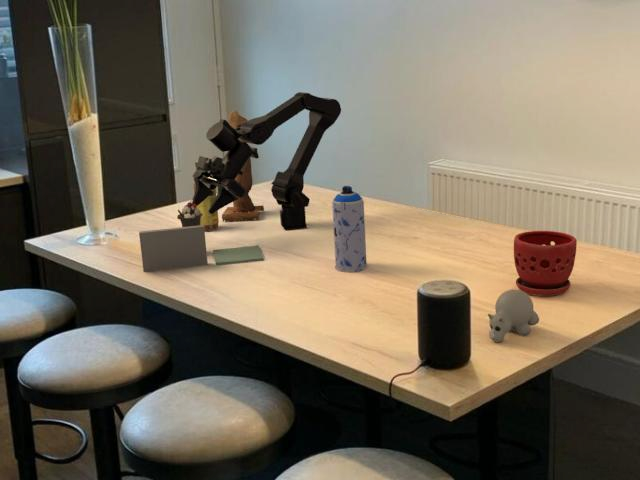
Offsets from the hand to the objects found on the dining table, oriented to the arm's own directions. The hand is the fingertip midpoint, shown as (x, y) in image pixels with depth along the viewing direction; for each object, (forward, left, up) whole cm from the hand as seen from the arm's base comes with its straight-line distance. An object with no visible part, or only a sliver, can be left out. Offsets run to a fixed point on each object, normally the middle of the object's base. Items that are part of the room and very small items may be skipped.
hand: (201, 209), depth 249 cm
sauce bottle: (-2, -21, -11) cm, 23 cm away
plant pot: (-71, +58, -11) cm, 93 cm away
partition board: (+8, +13, -11) cm, 19 cm away
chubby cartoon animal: (-55, +81, -11) cm, 98 cm away
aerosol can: (-34, +28, -11) cm, 46 cm away
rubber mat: (-8, +9, -11) cm, 16 cm away
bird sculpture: (-13, -31, -11) cm, 35 cm away
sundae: (+3, +1, -11) cm, 12 cm away
